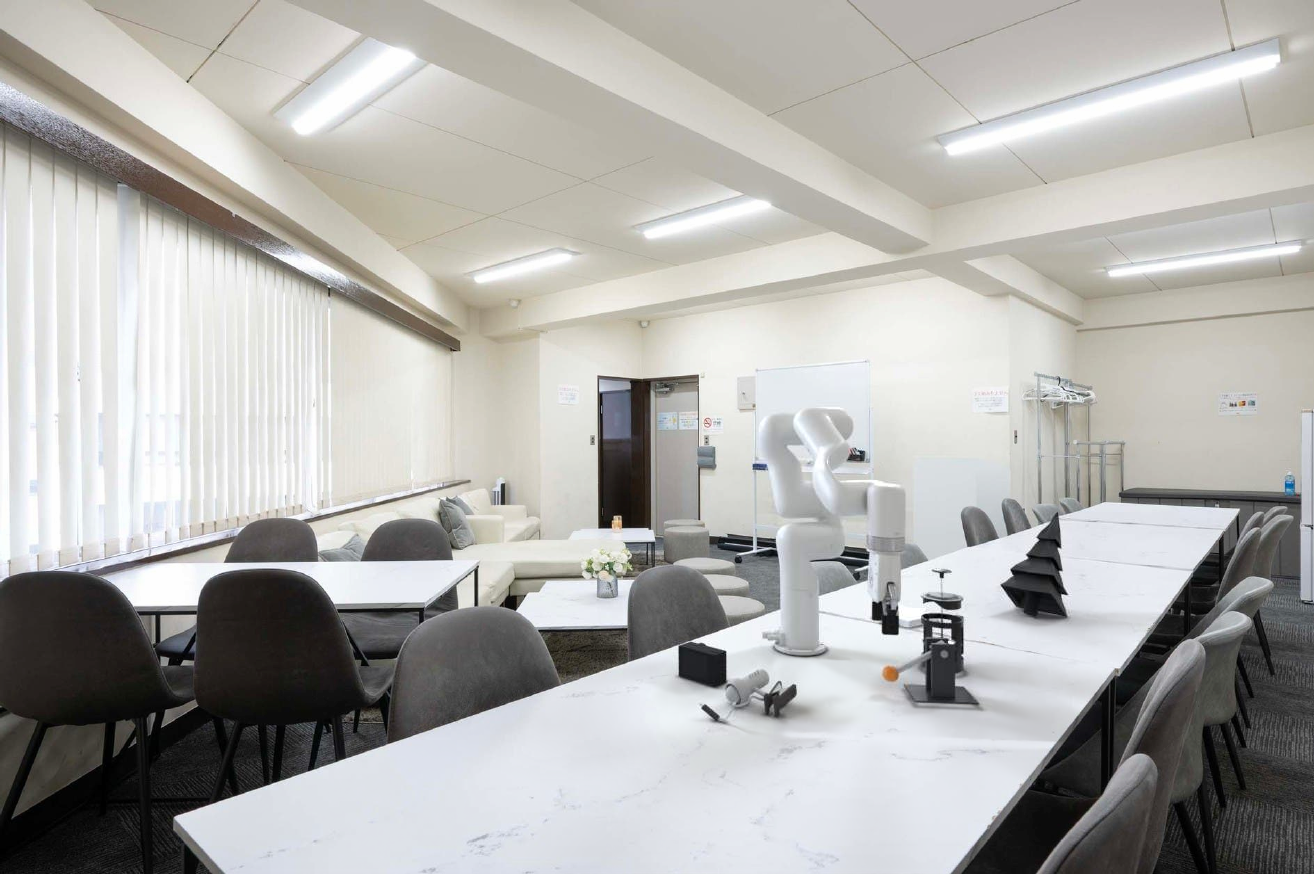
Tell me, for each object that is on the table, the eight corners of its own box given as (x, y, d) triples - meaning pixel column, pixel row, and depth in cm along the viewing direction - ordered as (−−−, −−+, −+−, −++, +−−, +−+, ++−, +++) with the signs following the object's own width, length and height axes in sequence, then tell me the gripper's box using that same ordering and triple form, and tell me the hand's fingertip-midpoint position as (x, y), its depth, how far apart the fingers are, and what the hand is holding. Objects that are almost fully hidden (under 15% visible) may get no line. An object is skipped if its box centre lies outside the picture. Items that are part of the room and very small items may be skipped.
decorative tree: (1065, 629, 199) (1091, 526, 211) (1047, 606, 191) (1076, 501, 204) (1013, 619, 210) (1040, 522, 223) (994, 597, 203) (1024, 497, 215)
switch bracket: (915, 706, 134) (915, 646, 134) (903, 689, 143) (903, 633, 143) (979, 709, 133) (978, 648, 133) (963, 692, 142) (963, 635, 142)
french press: (943, 681, 148) (943, 575, 148) (909, 668, 156) (908, 568, 157) (978, 671, 154) (978, 570, 154) (943, 660, 162) (942, 563, 162)
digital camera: (730, 681, 149) (730, 649, 149) (715, 687, 145) (715, 655, 145) (694, 670, 156) (694, 639, 156) (678, 676, 152) (678, 645, 152)
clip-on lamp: (735, 747, 123) (802, 703, 133) (731, 716, 122) (799, 674, 132) (693, 720, 133) (759, 680, 143) (690, 690, 131) (756, 653, 141)
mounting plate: (905, 610, 209) (905, 604, 209) (943, 619, 198) (943, 613, 198) (865, 619, 199) (865, 612, 199) (903, 629, 188) (903, 622, 188)
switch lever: (889, 687, 138) (881, 672, 138) (885, 681, 141) (877, 667, 141) (952, 656, 136) (944, 642, 136) (947, 651, 139) (939, 637, 140)
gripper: (859, 536, 149) (858, 614, 149) (875, 551, 132) (874, 639, 132) (894, 537, 148) (893, 616, 148) (915, 552, 131) (914, 641, 131)
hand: (884, 627), depth 140 cm, fingers open, 9 cm apart
